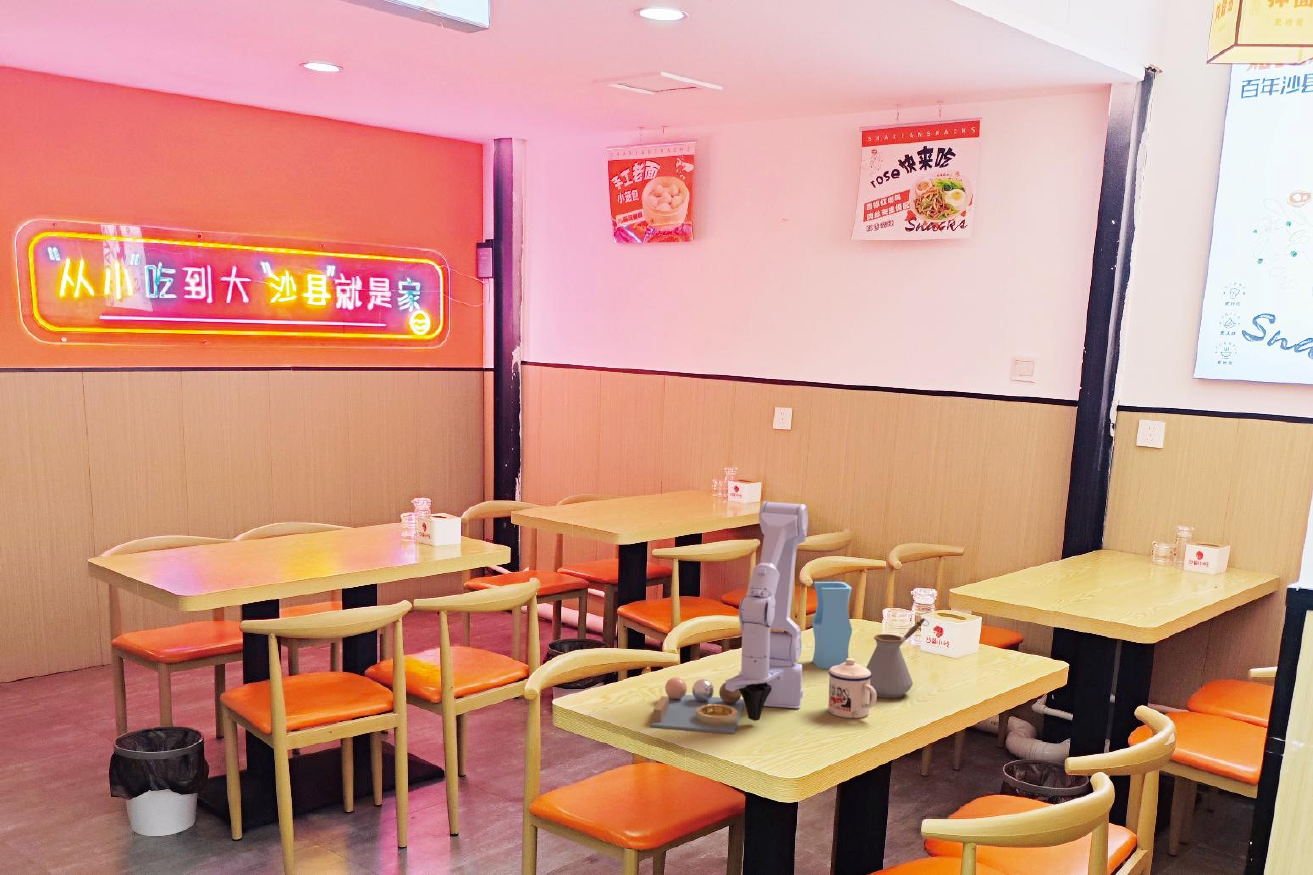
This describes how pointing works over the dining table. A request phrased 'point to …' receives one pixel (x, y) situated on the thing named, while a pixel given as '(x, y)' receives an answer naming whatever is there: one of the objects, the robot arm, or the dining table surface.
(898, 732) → the dining table surface
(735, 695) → the walnut ball
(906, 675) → the coffee pot
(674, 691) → the terracotta ball
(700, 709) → the tan round shallow dish
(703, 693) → the silver steel ball
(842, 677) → the teacup with lid
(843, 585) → the vase
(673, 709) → the slate mat
